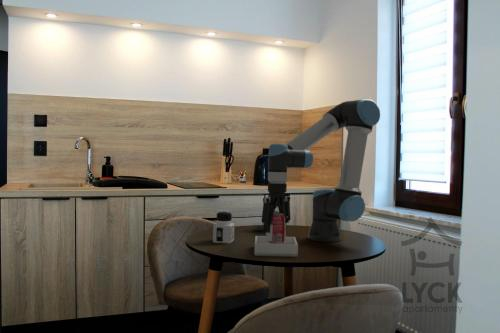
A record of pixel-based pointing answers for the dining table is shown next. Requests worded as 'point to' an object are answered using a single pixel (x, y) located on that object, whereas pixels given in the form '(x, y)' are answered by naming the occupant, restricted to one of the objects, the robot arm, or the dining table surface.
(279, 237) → the soda can
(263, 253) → the bin
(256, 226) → the dining table surface
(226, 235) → the container
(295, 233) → the dining table surface
